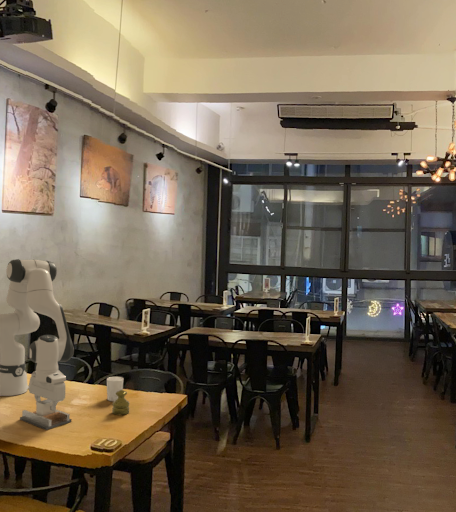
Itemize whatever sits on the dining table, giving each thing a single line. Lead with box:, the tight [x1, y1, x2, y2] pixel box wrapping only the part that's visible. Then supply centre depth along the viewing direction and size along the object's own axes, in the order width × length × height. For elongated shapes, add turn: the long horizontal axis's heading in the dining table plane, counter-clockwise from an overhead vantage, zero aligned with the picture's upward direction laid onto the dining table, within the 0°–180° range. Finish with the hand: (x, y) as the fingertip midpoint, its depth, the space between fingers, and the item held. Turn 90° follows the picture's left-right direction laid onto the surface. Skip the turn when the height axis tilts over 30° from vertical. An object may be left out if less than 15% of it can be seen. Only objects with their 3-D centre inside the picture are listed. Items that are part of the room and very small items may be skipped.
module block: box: [35, 399, 55, 416], centre depth 202 cm, size 4×6×7 cm
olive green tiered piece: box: [111, 389, 130, 416], centre depth 215 cm, size 7×7×10 cm
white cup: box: [106, 376, 124, 402], centre depth 233 cm, size 8×8×10 cm
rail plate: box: [19, 409, 72, 431], centre depth 202 cm, size 18×12×4 cm, turn 56°
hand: (45, 407), depth 202 cm, fingers open, 8 cm apart
